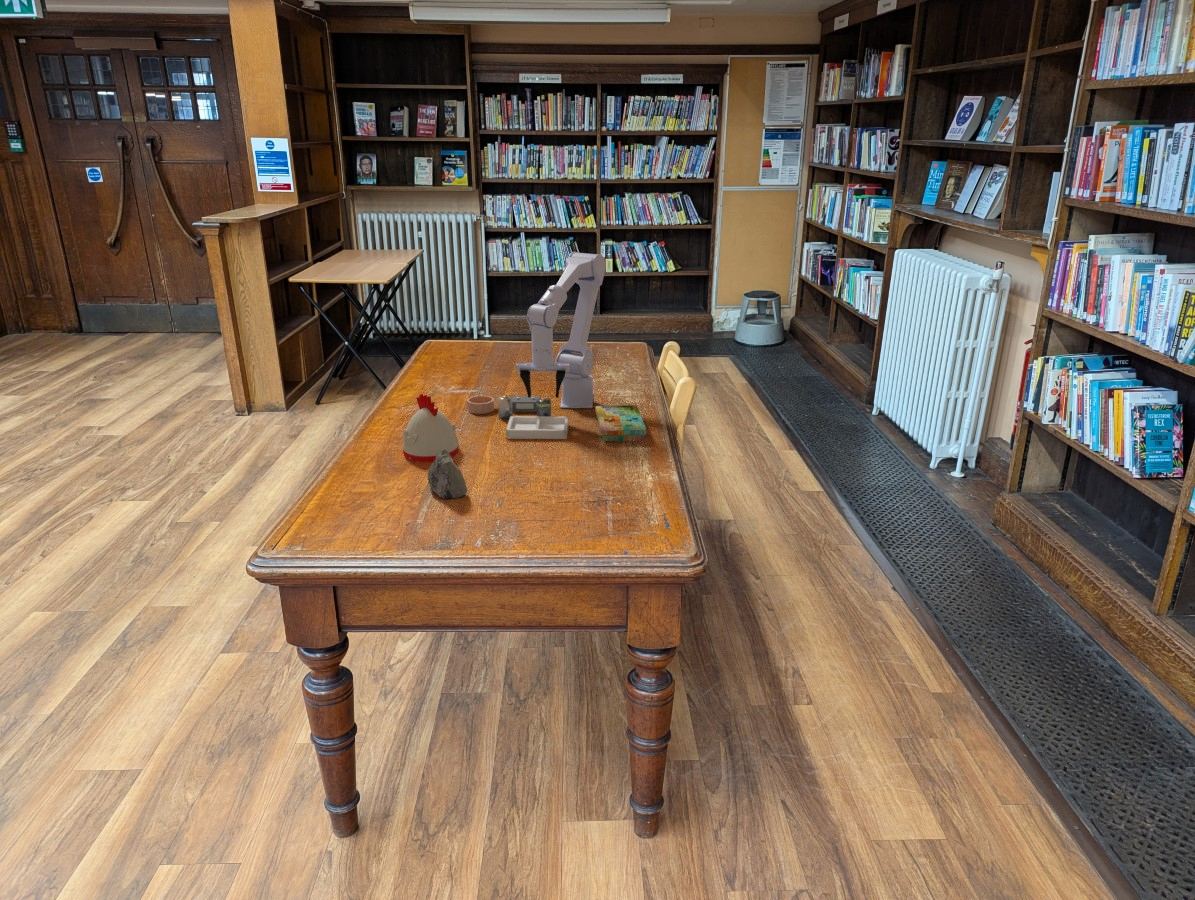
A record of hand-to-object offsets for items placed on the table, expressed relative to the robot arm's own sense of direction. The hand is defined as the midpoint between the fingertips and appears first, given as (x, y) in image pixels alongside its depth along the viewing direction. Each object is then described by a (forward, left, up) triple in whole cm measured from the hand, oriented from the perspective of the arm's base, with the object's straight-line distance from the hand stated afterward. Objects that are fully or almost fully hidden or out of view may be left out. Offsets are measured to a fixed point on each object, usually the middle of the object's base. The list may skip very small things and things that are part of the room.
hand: (543, 396), depth 226 cm
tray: (+1, +9, -7) cm, 11 cm away
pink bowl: (+19, -9, -7) cm, 22 cm away
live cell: (0, 0, -7) cm, 7 cm away
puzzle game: (-21, +7, -8) cm, 24 cm away
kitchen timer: (+27, +24, -7) cm, 37 cm away
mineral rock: (+19, +46, -7) cm, 50 cm away
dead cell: (+11, -2, -7) cm, 13 cm away
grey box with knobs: (+6, -10, -7) cm, 14 cm away
